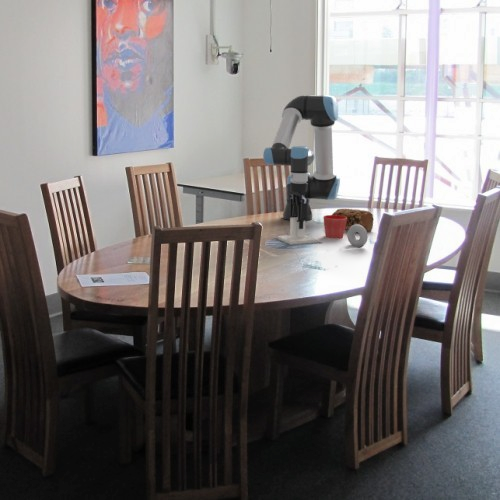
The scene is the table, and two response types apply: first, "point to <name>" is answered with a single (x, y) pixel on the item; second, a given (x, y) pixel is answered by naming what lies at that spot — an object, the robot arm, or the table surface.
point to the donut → (362, 233)
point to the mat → (297, 244)
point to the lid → (293, 234)
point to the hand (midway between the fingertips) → (297, 234)
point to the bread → (356, 218)
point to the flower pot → (334, 226)
